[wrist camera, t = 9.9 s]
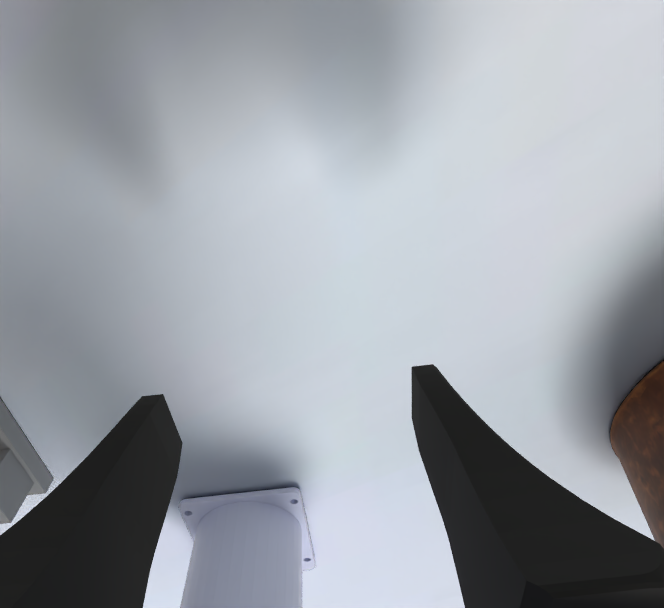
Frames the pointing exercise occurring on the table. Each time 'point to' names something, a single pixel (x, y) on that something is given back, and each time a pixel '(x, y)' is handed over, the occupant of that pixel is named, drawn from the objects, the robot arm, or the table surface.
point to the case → (644, 446)
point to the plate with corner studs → (18, 468)
